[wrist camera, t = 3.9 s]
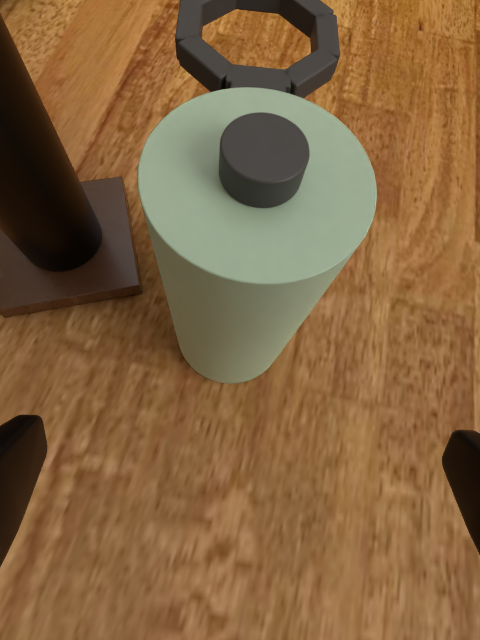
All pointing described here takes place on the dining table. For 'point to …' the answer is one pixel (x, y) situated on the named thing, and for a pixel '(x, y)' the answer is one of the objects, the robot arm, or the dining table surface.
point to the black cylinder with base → (54, 210)
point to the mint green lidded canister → (251, 194)
